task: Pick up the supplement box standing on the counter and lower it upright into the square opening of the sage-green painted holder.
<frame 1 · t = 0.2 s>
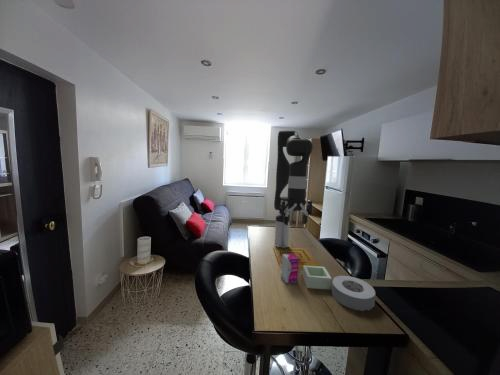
hand: (295, 224, 83), 27 cm above the counter, fingers open, 8 cm apart
holder: (315, 282, 87), on the counter
tape roll: (351, 298, 78), on the counter
supplement box: (289, 280, 88), on the counter
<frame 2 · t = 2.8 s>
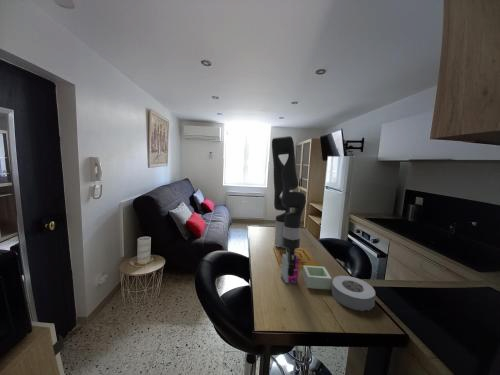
hand: (289, 271, 88), 4 cm above the counter, fingers closed on supplement box, 7 cm apart
supplement box: (289, 280, 88), on the counter, touching gripper
everything else where it was.
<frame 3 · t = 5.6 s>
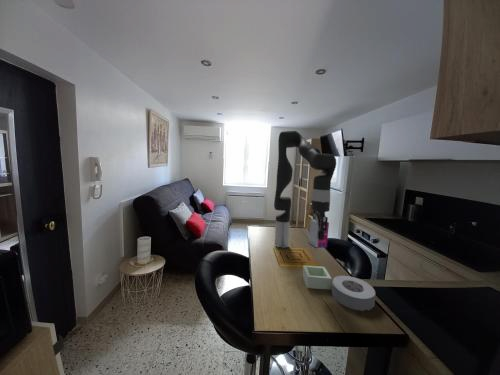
hand: (318, 236, 86), 21 cm above the counter, fingers closed on supplement box, 7 cm apart
supplement box: (317, 246, 86), point 17 cm above the counter, touching gripper
everything else where it was.
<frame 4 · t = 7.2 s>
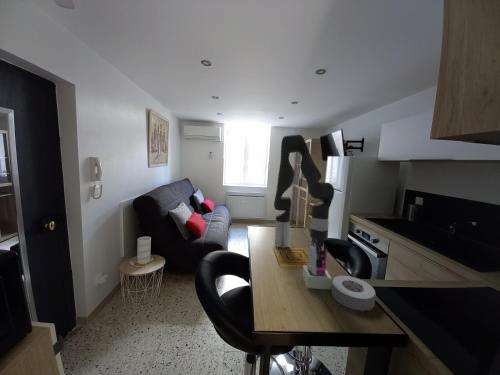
hand: (316, 263, 87), 9 cm above the counter, fingers closed on supplement box, 7 cm apart
supplement box: (316, 272, 87), point 4 cm above the counter, touching gripper
everything else where it was.
when the fingers open (7 cm above the counter, at t = 8.5 s): supplement box drops 2 cm, resting on holder.
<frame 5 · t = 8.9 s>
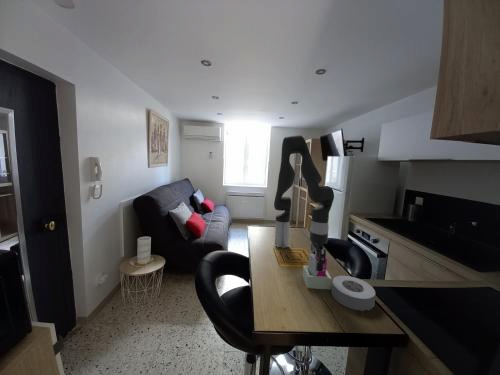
hand: (316, 266, 87), 8 cm above the counter, fingers open, 8 cm apart
supplement box: (316, 280, 87), point 1 cm above the counter, touching holder
everything else where it was.
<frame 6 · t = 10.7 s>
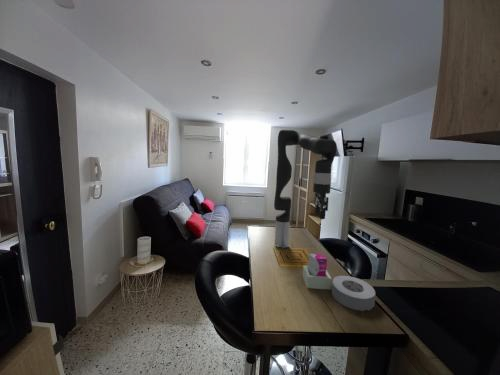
hand: (319, 216, 92), 29 cm above the counter, fingers open, 8 cm apart
nothing on the counter moved.
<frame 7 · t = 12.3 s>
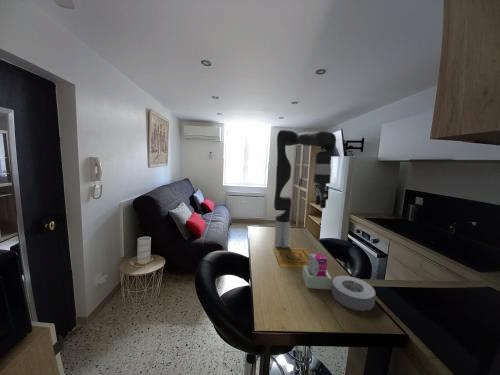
hand: (320, 206, 95), 33 cm above the counter, fingers open, 8 cm apart
nothing on the counter moved.
at the end: supplement box 0.3 cm off-centre on the holder, point 0.8 cm above the holder's base; supplement box tilted 0°; the gripper is holding nothing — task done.
